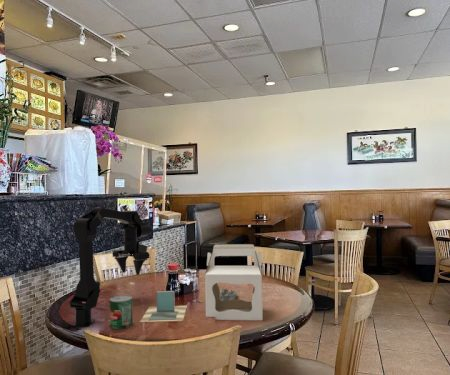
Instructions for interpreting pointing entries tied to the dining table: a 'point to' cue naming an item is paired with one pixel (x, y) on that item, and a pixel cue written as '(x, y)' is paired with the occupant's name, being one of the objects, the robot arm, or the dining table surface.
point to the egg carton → (227, 295)
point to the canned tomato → (121, 312)
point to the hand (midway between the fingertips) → (130, 273)
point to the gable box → (233, 276)
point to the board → (164, 314)
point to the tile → (165, 301)
